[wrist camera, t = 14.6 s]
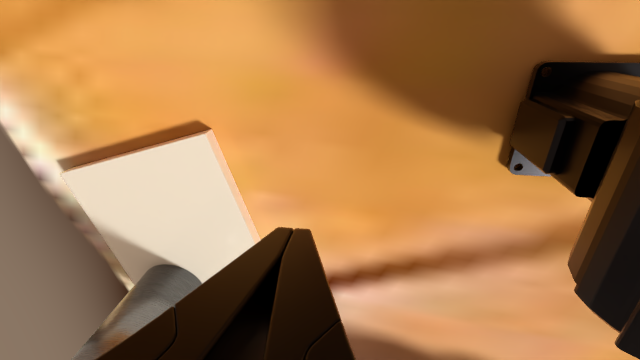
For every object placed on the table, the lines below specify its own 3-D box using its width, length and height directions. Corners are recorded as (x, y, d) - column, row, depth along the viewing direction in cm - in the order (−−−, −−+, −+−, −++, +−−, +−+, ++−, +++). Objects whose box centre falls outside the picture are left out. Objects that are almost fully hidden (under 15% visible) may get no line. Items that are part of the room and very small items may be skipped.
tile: (70, 168, 24) (59, 173, 23) (211, 129, 21) (205, 133, 20) (189, 348, 32) (184, 357, 31) (303, 336, 29) (301, 346, 28)
